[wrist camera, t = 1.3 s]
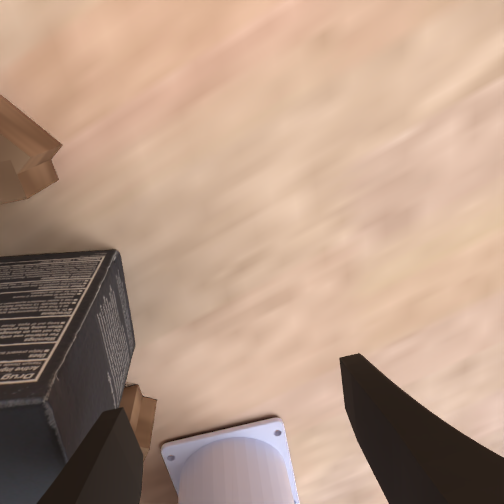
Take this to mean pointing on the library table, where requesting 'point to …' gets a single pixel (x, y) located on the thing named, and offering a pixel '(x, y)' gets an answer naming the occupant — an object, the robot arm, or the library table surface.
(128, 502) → the robot arm
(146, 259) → the library table surface
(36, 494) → the small box
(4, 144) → the chute
